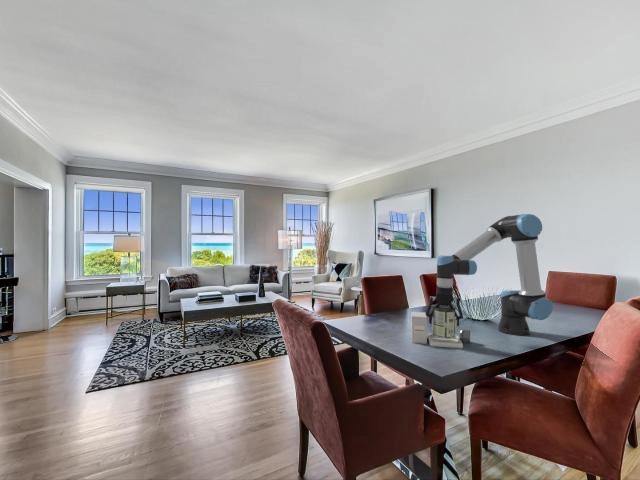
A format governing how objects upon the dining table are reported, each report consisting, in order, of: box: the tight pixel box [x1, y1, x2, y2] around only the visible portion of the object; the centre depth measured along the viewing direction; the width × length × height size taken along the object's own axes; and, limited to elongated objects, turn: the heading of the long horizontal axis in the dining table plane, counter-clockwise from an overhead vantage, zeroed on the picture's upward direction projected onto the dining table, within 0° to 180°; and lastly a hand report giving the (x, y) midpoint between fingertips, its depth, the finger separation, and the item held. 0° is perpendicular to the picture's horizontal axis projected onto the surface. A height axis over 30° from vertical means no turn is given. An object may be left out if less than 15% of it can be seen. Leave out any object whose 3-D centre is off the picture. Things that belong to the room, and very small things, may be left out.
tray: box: [427, 333, 464, 349], centre depth 156 cm, size 15×15×2 cm
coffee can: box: [432, 305, 456, 339], centre depth 156 cm, size 10×10×14 cm
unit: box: [410, 311, 428, 345], centre depth 160 cm, size 7×12×13 cm, turn 165°
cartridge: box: [458, 328, 471, 345], centre depth 156 cm, size 5×5×6 cm
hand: (443, 331), depth 156 cm, fingers closed on coffee can, 10 cm apart
